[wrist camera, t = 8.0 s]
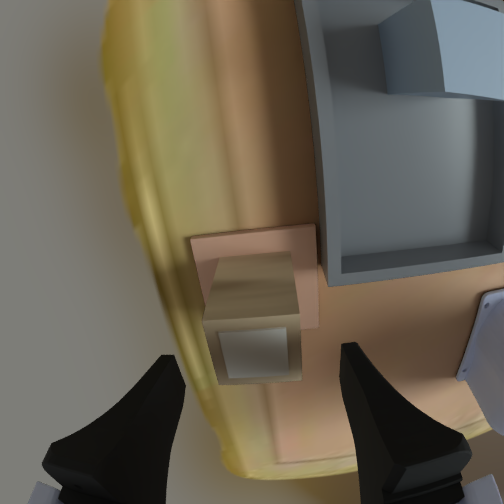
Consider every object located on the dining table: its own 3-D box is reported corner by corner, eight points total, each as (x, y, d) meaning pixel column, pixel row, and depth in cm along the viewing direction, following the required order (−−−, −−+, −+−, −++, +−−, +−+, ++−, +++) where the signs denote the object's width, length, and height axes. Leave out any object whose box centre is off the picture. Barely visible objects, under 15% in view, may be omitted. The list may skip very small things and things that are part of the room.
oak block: (294, 309, 20) (302, 382, 14) (230, 314, 20) (218, 386, 15) (290, 250, 18) (300, 315, 13) (219, 257, 18) (201, 322, 13)
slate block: (449, 98, 14) (517, 102, 8) (387, 94, 14) (445, 91, 9) (440, 32, 12) (504, 13, 7) (377, 24, 12) (428, -8, 7)
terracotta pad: (318, 323, 21) (319, 327, 20) (214, 331, 21) (213, 336, 21) (314, 223, 18) (315, 226, 17) (192, 236, 18) (190, 239, 18)
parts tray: (487, 245, 18) (507, 261, 16) (321, 265, 19) (328, 286, 17) (481, 7, 11) (503, 1, 9) (290, -16, 12) (294, -34, 10)
